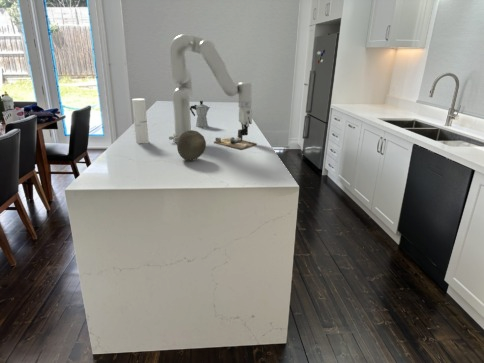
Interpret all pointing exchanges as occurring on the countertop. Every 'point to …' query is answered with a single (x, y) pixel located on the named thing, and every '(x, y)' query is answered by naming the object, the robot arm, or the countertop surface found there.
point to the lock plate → (236, 145)
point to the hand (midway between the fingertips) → (244, 135)
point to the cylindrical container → (140, 120)
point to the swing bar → (237, 137)
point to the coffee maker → (200, 114)
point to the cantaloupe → (191, 145)
